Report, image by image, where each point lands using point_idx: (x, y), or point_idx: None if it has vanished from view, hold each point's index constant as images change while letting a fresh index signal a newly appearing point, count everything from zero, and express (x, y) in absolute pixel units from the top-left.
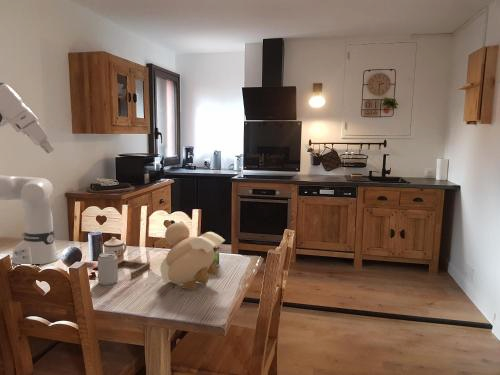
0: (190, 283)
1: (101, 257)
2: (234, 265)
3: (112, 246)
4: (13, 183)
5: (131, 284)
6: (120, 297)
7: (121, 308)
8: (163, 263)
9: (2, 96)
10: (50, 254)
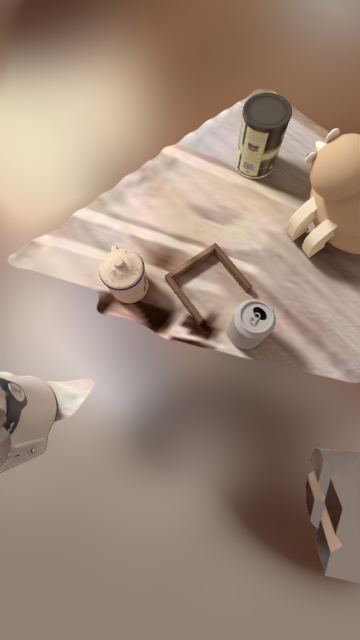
0: None
1: (263, 331)
2: None
3: (141, 278)
4: None
5: (277, 302)
6: (327, 337)
7: None
8: (323, 238)
9: None
10: (41, 396)
